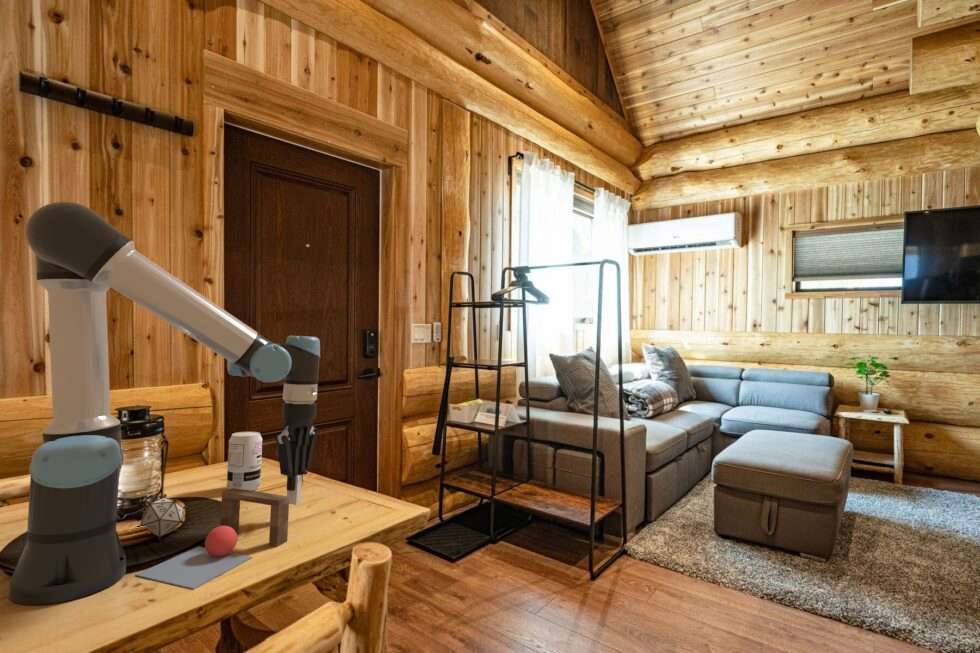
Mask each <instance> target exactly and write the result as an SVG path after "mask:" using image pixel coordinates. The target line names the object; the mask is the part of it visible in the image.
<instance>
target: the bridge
mask: <svg viewBox="0 0 980 653" xmlns="http://www.w3.org/2000/svg"><path fill="white" fill-rule="evenodd" d="M241 501H242V502H248V503H254V504H260V505H267V506H270V515H269V516H270V518H269V537H268V538H269V539H268V546H271V547H279V546H281V545H283V544H284V543H287V542H288V535H289V531H288V530H289V514H290V504H289V496H287V495H283V494H276V493H269V492H261V491H255V490H254V491H250V490H243V489H237V488H232V489H229V490H228V489H225V490H223V491H222V492H221V508H220V509H221V510H220V525H219V526H229V527H231V528H233V529H234V530H235V532H236V534H238V533H239V531H240V529H239V528H240V513H241V512H240V510H241Z"/></svg>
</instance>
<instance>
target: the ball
mask: <svg viewBox="0 0 980 653" xmlns="http://www.w3.org/2000/svg"><path fill="white" fill-rule="evenodd" d="M205 537H206V538H205V541H204V547H205V548H206V551H207V552H208V553H209V554H210V555H212V556H215V557H221V556H225V555H227V554H229V553H232V551H233V550H234V549H235V548H236V546H237V542H238V533H236V532H235V530H234V529H233V528H231V527H229V526H220V525H219V526H217V527H215V528H213V529H211V531H210V532H209V533H208V534H207V535H206V536H205Z"/></svg>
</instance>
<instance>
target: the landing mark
mask: <svg viewBox="0 0 980 653" xmlns="http://www.w3.org/2000/svg"><path fill="white" fill-rule="evenodd" d="M250 559H253V557H252V556H249V555H244V554H239V553H234V552H230V553H229V554H227V555H225V556H221V557H215V556H212V555H210V554H209V553H208V552H207V551H206V548H205V546H204V547H203V546H200V545H198V546H196V547H193V548H191V549H190V550H187V551H185V552H183V553H180V554H178V555H176V556H174V557H172V558H170V559H167V560H164V561H163V562H161V563H159V564H156V565H154V566H152V567H150V568H147V569H145V570H142V571H141V572H138V573H135V577H138V578H144V579H147V580H151V581H152V580H153V581H156V582H160V583H164V584H170V585H172V586H177V587H181V588H187V589H190V590H196V589H197V588H199V587H200V586H202V585H204V584H207V583H208V582H210V581H212V580H214V579H216V578H218V577H219V576H221V575H224V574H225V573H226V572H229V571H230V570H233V569H234V568H236V567H238V566H240V565H242V564H243V563H245V562H247V561H249V560H250Z"/></svg>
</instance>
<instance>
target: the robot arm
mask: <svg viewBox="0 0 980 653" xmlns="http://www.w3.org/2000/svg"><path fill="white" fill-rule="evenodd" d="M24 233H25V239H26V241H27V244H28V246H29V247H30V249H31V251H32V252H33V253H34V255H35V272H36V273H35V275H36V283H37V284H38V285H39V286H41V287H42V288H43V289H44V290H46V292H47V298H48V299H47V303H48V325H49V326H48V327H49V329H48V330H49V348H50V349H49V352H50V353H49V354H50V357H49V358H50V373H51V374H50V376H51V377H50V379H51V400H52V401H51V402H52V404H51V405H52V420H51V422H50V423H49V424H47V426H45V427H44V428H43V429H42V444H41V445H40V446H38V447H37V448H36V449H35V450H34V451H33V454H32V457H31V462H30V464H29V468H28V469H29V470H28V471H29V476H30V480H29V481H30V483H29V494H28V495H29V498H28V513H27V514H28V515H27V516H28V517H27V528H26V529H27V532H26V543H25V546H24V547H23V550H22V553H21V555H20V557H19V560H18V561H17V564H16V567H15V569H14V571H13V573H12V575H11V577H10V579H9V584H8V599H9V600H10V601H11V602H14V603H16V604H22V605H32V606H33V605H38V606H39V605H49V604H56V603H63V602H67V601H71V600H77V599H79V598H84V597H86V596H90V595H93V594H95V593H98V592H101V591H102V590H105V589H107V588H109V587H111V586H112V585H114V584H116V583H117V582H119V581H120V580H121V579H122V578H123V577H124V576H125V575H126V573H127V572H126V571H127V556H126V554H125V551H124V548H123V545H122V541H121V539H120V536H119V534H118V531H117V517H118V500H119V499H118V498H119V482H120V474H121V469H122V468H123V465H124V458H125V454H124V449H123V448H122V449H121V445H122V433H121V432H122V430H121V420H120V419H118V418H117V417H115V416H114V415H112V414H111V394H110V392H111V390H110V388H111V387H110V366H109V365H110V364H109V362H110V361H109V339H108V338H109V337H108V313H107V312H108V311H107V309H108V308H107V307H108V306H107V292H108V290H110V289H111V288H112V289H113V290H115V291H116V292H118V293H120V294H121V295H123V296H124V297H126V298H128V299H129V300H130V301H132V302H134V303H136V304H137V305H139V307H140V306H141V307H142V308H143V309H146V311H148V312H149V313H151V314H153V315H155V316H156V317H158V318H160V319H161V320H163V321H164V322H166V323H168V324H169V325H171V326H172V327H174V328H175V329H177V330H179V331H180V332H182V333H184V334H185V335H187V336H188V337H190V338H192V339H193V340H195V341H197V342H199V343H200V344H201V345H203V346H204V347H206V348H208V349H210V350H211V351H213V352H214V353H216V354H217V355H219V356H221V357H222V358H224V359H225V360H226V368H227V373H228V374H229V375H230V376H236V377H237V376H238V377H243V378H244V377H252V378H255V379H256V380H258V381H260V382H262V383H277V382H279V381H282V380H284V381H283V391H282V399H283V401H284V402H283V403H282V407H281V418H282V419H283V420H284V425H283V428H282V429H283V430H282V432H281V433H280V434H276V435H275V437H274V440H275V442H276V444H277V451H278V462H279V463H278V464H279V470H280V474H281V475H283V476H286V479H287V480H286V491H287V492H286V496H289V505H293V506H297V505H300V504H301V500H302V487H303V481H304V480H303V479H304V475H308V471H309V470H310V468H311V464H312V458H313V454H314V450H315V449H314V448H315V444H316V439H317V437H318V434H319V431H320V429H319V428H318V427H314V426H313V420H314V419H316V416H317V406H318V405H317V403H316V402H315V401H317V399H318V387H319V386H318V383H319V371H320V362H321V361H320V359H321V342H320V338H318V337H317V336H304V335H288V336H287V337H286V341H285V343H274V342H272V341H271V340H269V339H268V338H267V337H265V336H264V335H262V334H260V333H259V332H257V331H256V329H255V330H254V329H253V328H252V327H250V326H249V325H247V324H246V323H244V322H243V321H242V320H240V319H238V318H237V317H236V316H234V315H233V314H231V313H229V312H228V311H227V310H226V309H224V308H222V307H220V305H218V304H216V303H215V302H214V301H212V300H210V299H209V298H208V297H205V296H204V295H203V294H202V293H200V292H199V291H197V290H195V289H194V288H192V287H191V286H189V285H188V284H186V283H185V282H184V281H182V280H180V279H179V278H178V277H176V276H174V274H172V273H170V272H168V271H167V270H166V269H164V268H163V267H161V266H159V265H158V264H157V263H156V262H154V261H152V260H151V259H150V258H147V257H146V256H145V255H143V254H142V253H140V252H139V251H138V250H137V249H136V246H135V242H134V240H132V239H130V238H129V237H127V236H126V235H125V234H123V233H122V232H121V231H119V230H117V229H116V228H115V226H113V225H112V224H110V223H109V222H108V221H107V220H106V219H105V218H103V217H102V215H100V214H99V213H98V212H96V211H95V210H94V209H91V208H89V207H88V206H87V205H82V204H80V203H75V202H71V201H58V202H50V203H48V204H46V205H42V206H41V207H39V208H38V209H36V210H35V211H34V212H33V213H32V214H31V215H30V217H29V218H28V220H27V223H26V225H25V232H24Z"/></svg>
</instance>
